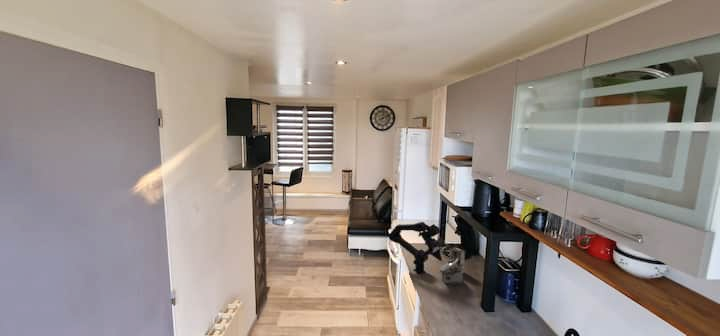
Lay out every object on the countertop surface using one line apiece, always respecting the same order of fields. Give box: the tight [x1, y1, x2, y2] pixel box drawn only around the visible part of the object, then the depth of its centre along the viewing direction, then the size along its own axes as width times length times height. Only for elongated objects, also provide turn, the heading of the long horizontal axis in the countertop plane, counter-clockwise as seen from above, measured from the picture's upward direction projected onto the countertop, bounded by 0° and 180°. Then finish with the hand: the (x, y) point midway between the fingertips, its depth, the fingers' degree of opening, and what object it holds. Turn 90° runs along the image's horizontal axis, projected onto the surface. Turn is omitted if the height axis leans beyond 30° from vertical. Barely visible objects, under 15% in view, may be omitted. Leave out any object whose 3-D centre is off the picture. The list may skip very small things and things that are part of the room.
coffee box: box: [448, 246, 466, 274], centre depth 205 cm, size 9×6×16 cm
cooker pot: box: [439, 267, 464, 288], centre depth 193 cm, size 14×17×6 cm
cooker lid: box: [439, 257, 458, 271], centre depth 193 cm, size 14×14×2 cm
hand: (441, 260), depth 194 cm, fingers closed
